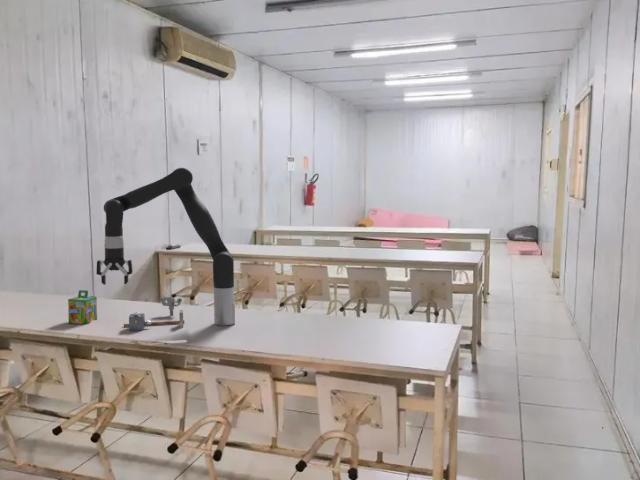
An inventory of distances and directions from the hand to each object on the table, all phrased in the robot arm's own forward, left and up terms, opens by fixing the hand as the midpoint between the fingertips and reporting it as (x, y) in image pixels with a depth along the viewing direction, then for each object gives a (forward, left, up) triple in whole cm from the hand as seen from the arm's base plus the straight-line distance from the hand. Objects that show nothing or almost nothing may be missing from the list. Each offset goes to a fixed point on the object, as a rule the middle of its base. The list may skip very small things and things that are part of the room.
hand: (115, 284), depth 226 cm
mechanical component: (-22, -21, -22) cm, 38 cm away
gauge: (-10, +1, -20) cm, 23 cm away
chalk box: (+18, -24, -22) cm, 37 cm away
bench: (-15, 0, -22) cm, 26 cm away
